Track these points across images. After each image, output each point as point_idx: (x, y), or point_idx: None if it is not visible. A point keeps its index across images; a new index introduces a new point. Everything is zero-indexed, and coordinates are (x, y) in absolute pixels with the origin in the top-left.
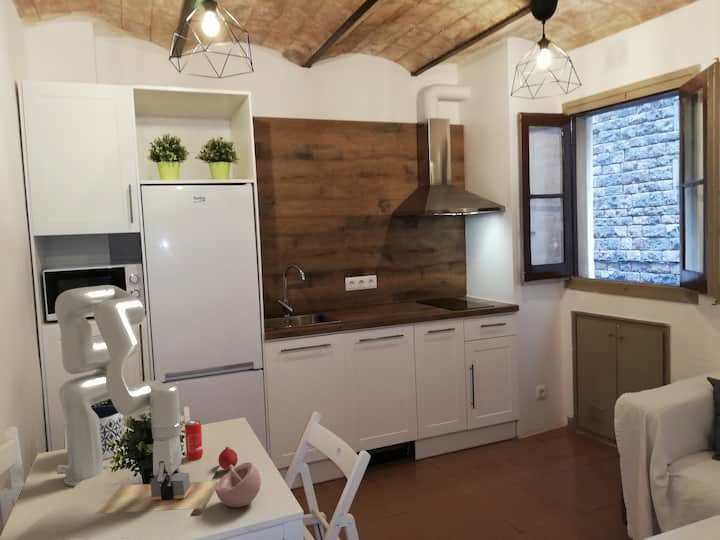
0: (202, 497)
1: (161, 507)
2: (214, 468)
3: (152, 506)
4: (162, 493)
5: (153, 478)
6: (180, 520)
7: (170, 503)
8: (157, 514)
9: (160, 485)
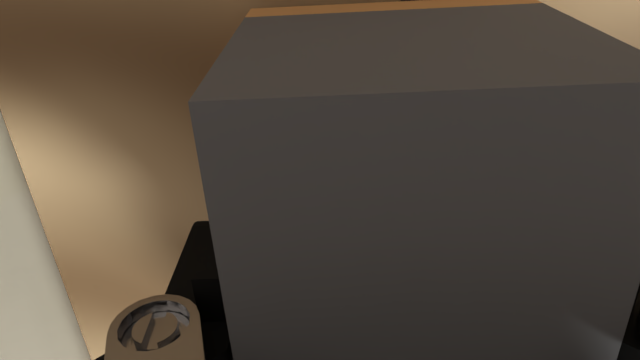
0: None
1: (96, 200)
2: None
3: (102, 84)
4: None
5: (412, 95)
6: (31, 354)
7: None
8: None
9: (111, 334)
